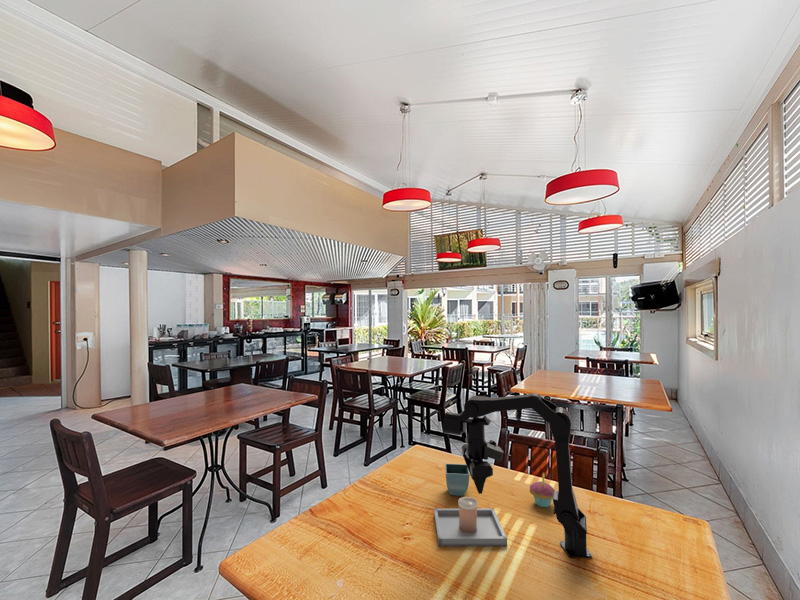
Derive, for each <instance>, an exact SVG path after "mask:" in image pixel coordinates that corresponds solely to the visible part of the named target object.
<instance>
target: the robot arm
mask: <svg viewBox="0 0 800 600" xmlns="http://www.w3.org/2000/svg"><path fill="white" fill-rule="evenodd" d="M528 409H529V410H530V409H532V410H533V411H534V412H536V414H538V416H540V417H541V418H542V419H543V420H544V421H545V422H547V423H548V424H549V427H550V431H551V434H552V438H553V440H554V445H555V458H556V459H555V460H556V472H557V473H556V474H557V483H558V484H557V485H558V490H555V489H554V491H553V499H552V502H553V515H555V516H556V520H557V522H559V524H560V525H562V527H563V529H564V532H563V533H564V534H563V535H564V540H560V541H559V545H561V546H560V547H562V549H563V550H564V552H565V553H566V554H567V556H568V558H572V559H573V558H576V559H579V558H593V554H592V553H591V552H590V550H589V549H588V548H587V546H588V545H587V542H588V541H587V533H588V530H587V529H588V528H587V516H586V515H585V514H584V513H583V512H582V511H581V509H580V508H579V506H578V503H577V497H576V495H575V492H574V488H573V481H572V468H571V467H572V466H571V458H570V457H571V455H570V453H571V452H570V436H571V427H572V415H571V412H570V411H569V410H567V408H565V407H561V406H557V405H556V404H555V403H554V402H552V401H549V400H547V399H546V398H544V397H543V396H541V395H540V394H538V393H537V392H532V393H528V394H520V395H519V394H518V395H509V396H499V397H489V396H486V395H485V396H484V395H473V396H471V397H469V399H468V400H467V401H465V403H464V405H463V411H462V412H460V413H456V412H454V413H453V412H450V411H446V412H445V413H444V418H443V421H442V424H441V425H442V432H443V434H447V435H453V436H455V435H456V436H462V435H463V433H465V432H466V437H465V438H464V439H465V440H464V441H465V444H463V445H462V446H461V454H462V457H463V459H464V462H465V465H467V467H468V470H469V473H470V478H471V479H472V480H473V483H474V486H475V488H476V491H477V493H478V494H479V495H481V494H483V491H484V487H485V483H486V480H487V479H488V478H491V477H492V476H494V469H493V467H492V465H491V463H489V459H492V460H494V461H496V462H498V463H501V462H502V458H503V455H504V454H505V452H504V450H503V449H502V447H500V446H499V445H497V442H496V441H495V440H494V439H490V440H489V441H488V442H487V441H486V439H485V438H486V437H485V426H490V425H491V422H492V420H490V419H489V417H488V416H487V415H489V414H491V413H492V414H493V413H497V412H498V413H499V412H504V411H505V412H507V411H519V410H528ZM487 460H488V461H487Z"/></svg>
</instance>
